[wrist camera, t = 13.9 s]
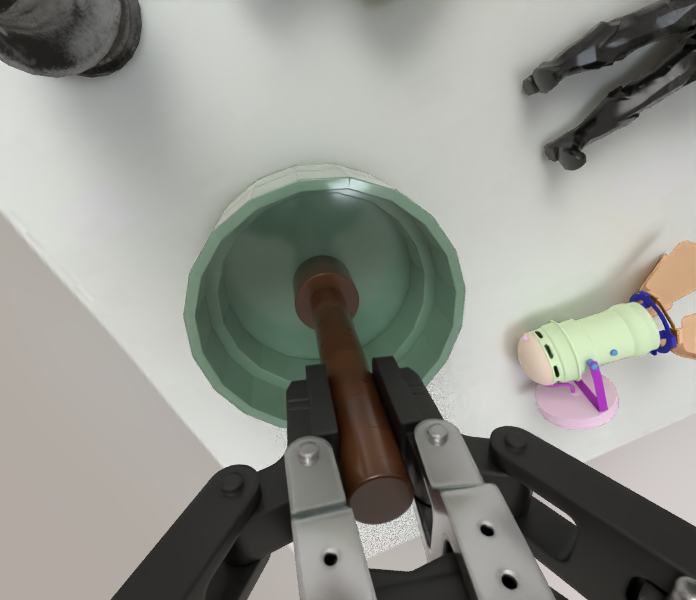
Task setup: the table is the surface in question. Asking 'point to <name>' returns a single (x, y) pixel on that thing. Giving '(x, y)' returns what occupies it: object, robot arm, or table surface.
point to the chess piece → (69, 36)
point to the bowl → (284, 259)
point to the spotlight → (608, 345)
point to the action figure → (603, 50)
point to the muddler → (353, 394)
